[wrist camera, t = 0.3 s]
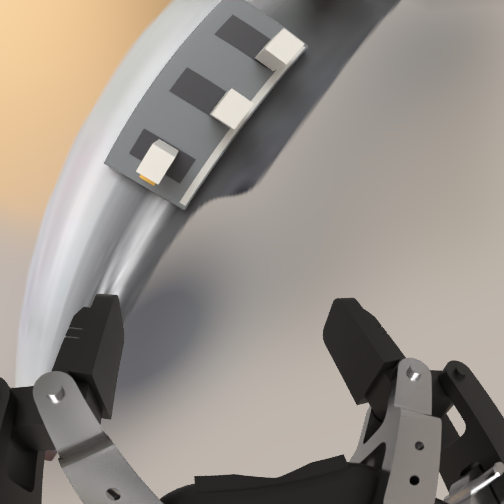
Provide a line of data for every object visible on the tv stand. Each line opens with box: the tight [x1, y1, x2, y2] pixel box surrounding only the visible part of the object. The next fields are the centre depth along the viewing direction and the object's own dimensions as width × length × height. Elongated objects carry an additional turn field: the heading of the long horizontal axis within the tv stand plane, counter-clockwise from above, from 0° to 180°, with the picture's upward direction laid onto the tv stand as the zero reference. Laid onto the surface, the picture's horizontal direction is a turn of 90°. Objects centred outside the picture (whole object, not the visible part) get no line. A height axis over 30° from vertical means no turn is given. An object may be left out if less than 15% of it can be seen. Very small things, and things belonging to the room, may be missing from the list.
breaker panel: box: [104, 0, 309, 210], centre depth 27 cm, size 24×11×2 cm, turn 143°
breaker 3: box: [255, 28, 304, 71], centre depth 23 cm, size 3×2×5 cm
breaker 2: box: [210, 88, 254, 130], centre depth 25 cm, size 3×2×5 cm
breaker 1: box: [136, 139, 178, 184], centre depth 26 cm, size 3×2×5 cm
